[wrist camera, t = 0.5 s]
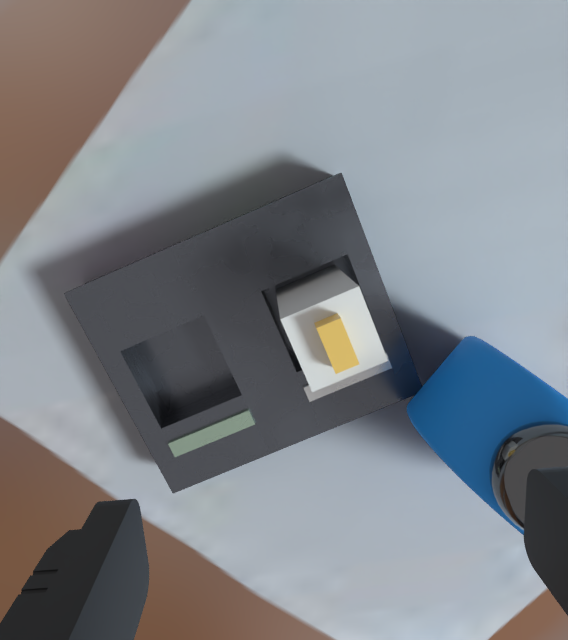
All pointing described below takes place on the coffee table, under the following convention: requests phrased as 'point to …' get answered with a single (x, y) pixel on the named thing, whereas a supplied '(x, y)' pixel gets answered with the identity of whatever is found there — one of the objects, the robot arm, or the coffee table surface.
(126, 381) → the panel
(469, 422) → the alarm clock
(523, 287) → the coffee table surface
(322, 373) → the plug
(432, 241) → the coffee table surface
